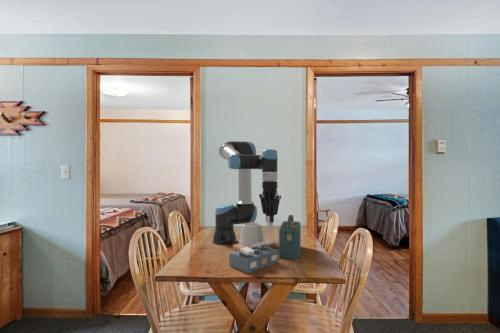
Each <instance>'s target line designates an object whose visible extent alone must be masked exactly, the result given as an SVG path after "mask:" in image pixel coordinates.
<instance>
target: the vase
mask: <svg viewBox="0 0 500 333" xmlns="http://www.w3.org/2000/svg"><path fill="white" fill-rule="evenodd" d="M238 241H239V242H238V244H239V243H241V244H243V245H245V246H250V245H253V244H255V243H258V242H264V241H265V239H264V234H263V228H262V224H261V223H259V222H254V223H244V224H241V231H240V237H239V240H238Z"/></svg>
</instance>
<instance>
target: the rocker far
mask: <svg viewBox="0 0 500 333" xmlns="http://www.w3.org/2000/svg"><path fill="white" fill-rule="evenodd" d="M258 243H259V242H258ZM263 243H264V244H263V245H260V246H261V247H267V246H268V244H270V245H271V244H274V239H271V240H264V242H263Z"/></svg>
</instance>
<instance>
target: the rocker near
mask: <svg viewBox="0 0 500 333" xmlns="http://www.w3.org/2000/svg"><path fill="white" fill-rule="evenodd" d="M232 249H235V251H239V252H240V253H244V254H245V255H250V254H254V251H255V250H253V249H251V248H249V247H247V246H245V245H243V244H241V243H239V242H238V243H236V244H232Z"/></svg>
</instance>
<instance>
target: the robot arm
mask: <svg viewBox="0 0 500 333" xmlns="http://www.w3.org/2000/svg"><path fill="white" fill-rule="evenodd" d="M256 149H257V148H256V145H255V144H254V143H253V142H251V141H238V140H237V141H235V140H231V141H226V142H224V143H223V144H221V146H220V147H219V150H218V152H219V156H220V157H221V158H222V159H224V160H227V166H228V168H229V169H230V170H238V171H237V172H238V173H237V177H238V178H237V179H238V180H237V181H238V183H237V184H238V185H237V186H238V188H237V189H238V201H237V202H236V204H235V205H234V204H233V203H226V204H221V205H218V206H216V208H215V214H214V215H215V218H214V220H215V223H214V224H215V228H214V229H215V230H214V233H213V237H212V243H213V244H218V245H230V244H234V243H236V242H237V236H236V232H235V229H234V228H235V227H234V226H235V225H243V224H244V223H256V220H257V216H258V207H257V206H256V205H255V202H254V201H252V170H261V173H262V174H261V176H262V177H261V178H262V181H261V182H262V184H261V188H262V193H261V194H259V195H258V197H259V199H260V203H261V204H260V205H261V211H262V214H264V215H265V222H266V230H273V229H274V222H275V221H274V220H275V218H274V217H275V216H276V215H278V212H279V208H280V207H279V206H280V201H281V199H282V195H280V194H278V191H277V190H278V159H279V158H278V157H279V156H278V151H277V150H276V149H263V150H262V152H261V154H257V150H256Z"/></svg>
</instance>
